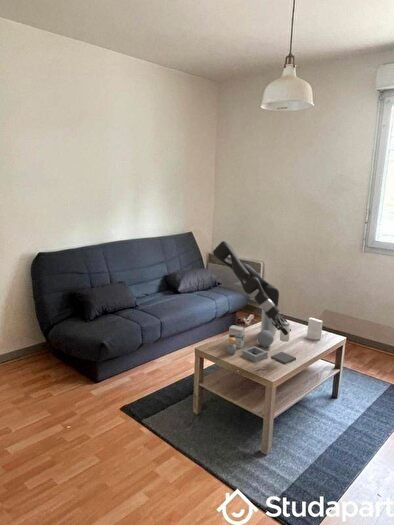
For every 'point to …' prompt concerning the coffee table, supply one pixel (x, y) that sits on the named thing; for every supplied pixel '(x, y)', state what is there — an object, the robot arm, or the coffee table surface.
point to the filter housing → (248, 352)
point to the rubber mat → (283, 357)
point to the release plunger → (232, 340)
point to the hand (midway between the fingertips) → (288, 332)
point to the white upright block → (314, 328)
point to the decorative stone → (265, 338)
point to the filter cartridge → (287, 327)
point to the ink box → (237, 335)
